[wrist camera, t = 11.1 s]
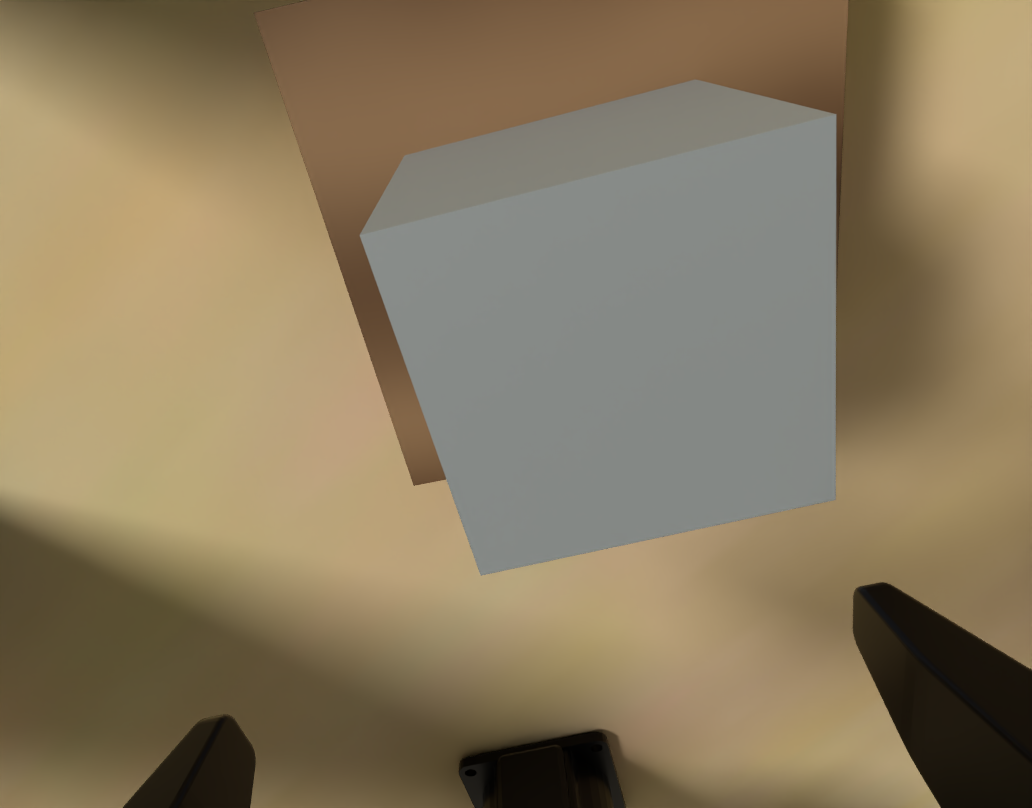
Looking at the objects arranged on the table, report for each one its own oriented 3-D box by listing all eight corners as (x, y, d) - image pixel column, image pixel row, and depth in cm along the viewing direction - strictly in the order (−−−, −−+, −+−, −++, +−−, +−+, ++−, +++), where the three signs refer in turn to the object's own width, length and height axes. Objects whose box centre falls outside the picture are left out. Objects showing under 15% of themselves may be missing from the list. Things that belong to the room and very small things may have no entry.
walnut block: (771, 341, 21) (831, 404, 17) (423, 410, 21) (413, 485, 18) (767, -92, 15) (853, -128, 12) (302, 16, 16) (253, 12, 12)
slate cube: (720, 347, 16) (835, 499, 11) (479, 403, 17) (480, 575, 11) (695, 79, 13) (836, 113, 8) (404, 155, 14) (359, 235, 8)
